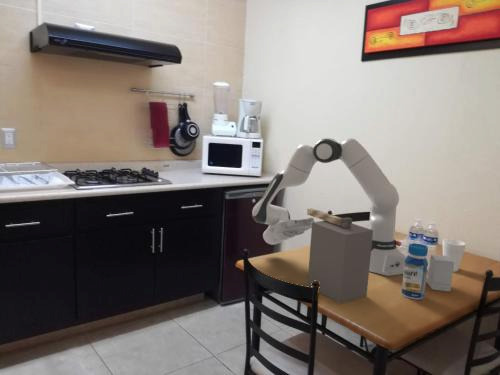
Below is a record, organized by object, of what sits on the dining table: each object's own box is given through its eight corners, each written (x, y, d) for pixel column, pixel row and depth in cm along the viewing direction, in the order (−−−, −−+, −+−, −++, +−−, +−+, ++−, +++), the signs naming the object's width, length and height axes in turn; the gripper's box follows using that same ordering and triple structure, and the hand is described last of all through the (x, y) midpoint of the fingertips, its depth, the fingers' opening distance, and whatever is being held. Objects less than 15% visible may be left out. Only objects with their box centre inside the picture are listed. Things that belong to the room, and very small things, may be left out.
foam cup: (464, 269, 182) (468, 242, 180) (458, 274, 176) (462, 246, 173) (442, 263, 189) (446, 237, 186) (436, 268, 182) (439, 241, 180)
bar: (305, 214, 163) (306, 207, 163) (312, 213, 165) (313, 206, 165) (343, 228, 145) (344, 219, 144) (351, 226, 147) (352, 218, 146)
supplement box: (450, 292, 156) (454, 261, 154) (430, 289, 158) (434, 259, 156) (445, 284, 164) (449, 255, 161) (426, 282, 165) (430, 253, 163)
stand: (307, 285, 157) (312, 222, 152) (333, 279, 164) (338, 218, 160) (339, 303, 142) (345, 234, 137) (366, 296, 149) (373, 230, 145)
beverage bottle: (429, 299, 149) (435, 248, 145) (410, 301, 146) (416, 250, 143) (414, 289, 157) (419, 241, 153) (396, 291, 154) (401, 242, 151)
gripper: (265, 224, 174) (282, 215, 163) (301, 220, 185) (319, 211, 174) (269, 238, 172) (286, 230, 161) (305, 233, 183) (323, 225, 172)
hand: (304, 220), depth 168 cm, fingers open, 8 cm apart
